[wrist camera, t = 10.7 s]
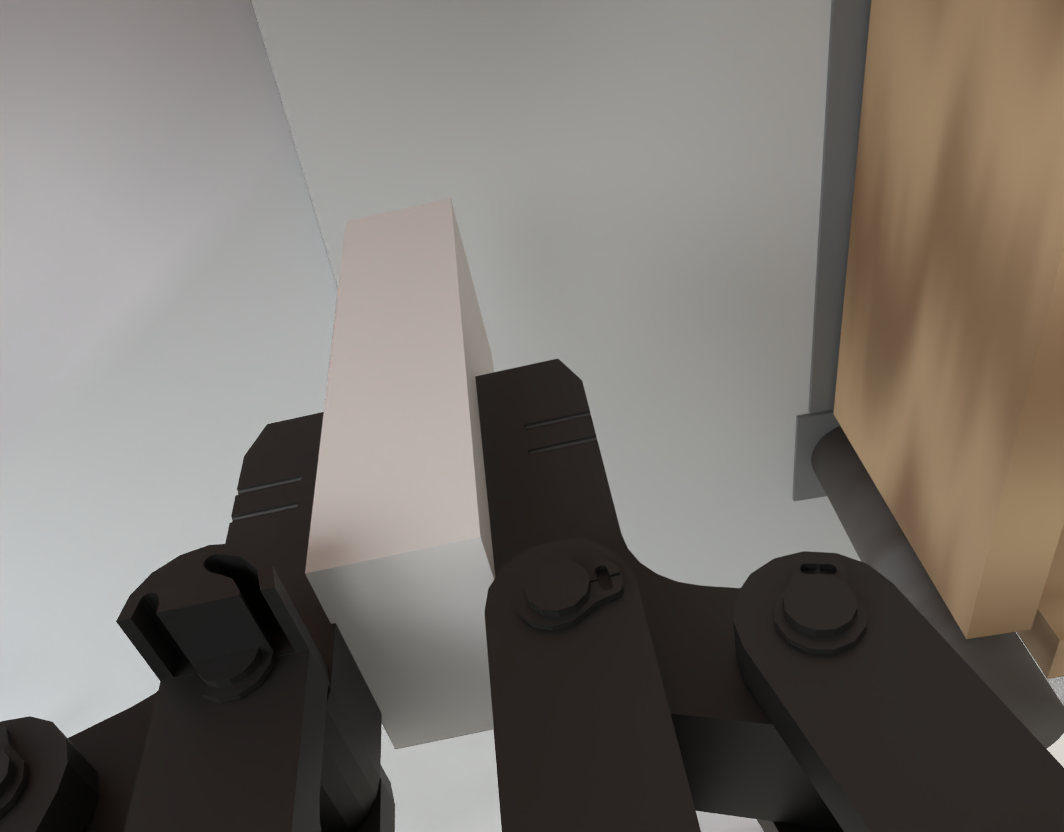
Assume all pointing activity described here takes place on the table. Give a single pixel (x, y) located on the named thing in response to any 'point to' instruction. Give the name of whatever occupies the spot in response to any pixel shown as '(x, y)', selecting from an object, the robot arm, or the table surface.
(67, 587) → the table surface
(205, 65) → the table surface
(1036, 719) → the fence panel fixed
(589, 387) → the board
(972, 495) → the fence panel hinged
